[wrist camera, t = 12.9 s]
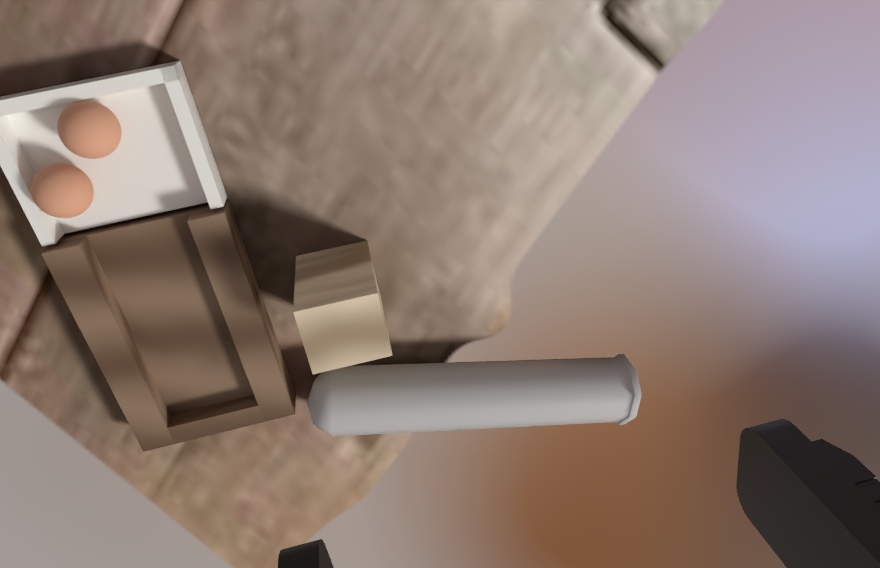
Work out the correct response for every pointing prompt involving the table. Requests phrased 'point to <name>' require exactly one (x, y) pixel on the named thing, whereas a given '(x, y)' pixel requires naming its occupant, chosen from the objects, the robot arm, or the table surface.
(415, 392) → the tube
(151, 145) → the tray
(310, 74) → the table surface
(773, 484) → the robot arm
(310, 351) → the block
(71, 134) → the ball
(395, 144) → the table surface
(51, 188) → the ball
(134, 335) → the slot board
